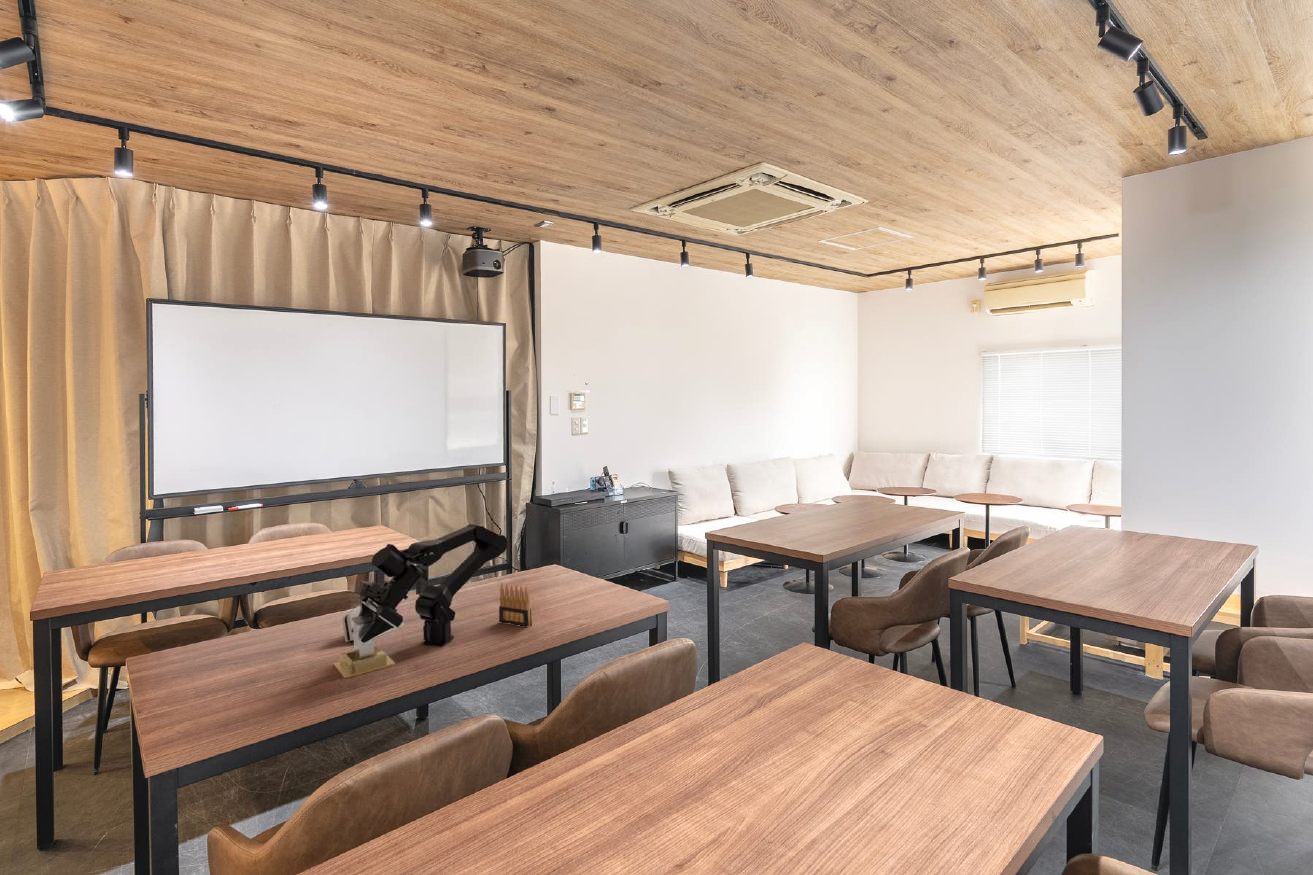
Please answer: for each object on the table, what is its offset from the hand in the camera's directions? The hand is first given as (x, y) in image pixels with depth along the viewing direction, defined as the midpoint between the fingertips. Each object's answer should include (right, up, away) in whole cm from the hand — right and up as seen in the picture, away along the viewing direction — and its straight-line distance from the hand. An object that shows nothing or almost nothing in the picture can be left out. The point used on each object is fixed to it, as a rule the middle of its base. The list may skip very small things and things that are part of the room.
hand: (357, 637), depth 163 cm
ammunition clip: (+34, -5, +29) cm, 45 cm away
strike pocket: (+1, -7, +1) cm, 8 cm away
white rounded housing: (-7, -6, +24) cm, 26 cm away
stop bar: (+1, -7, +1) cm, 7 cm away
